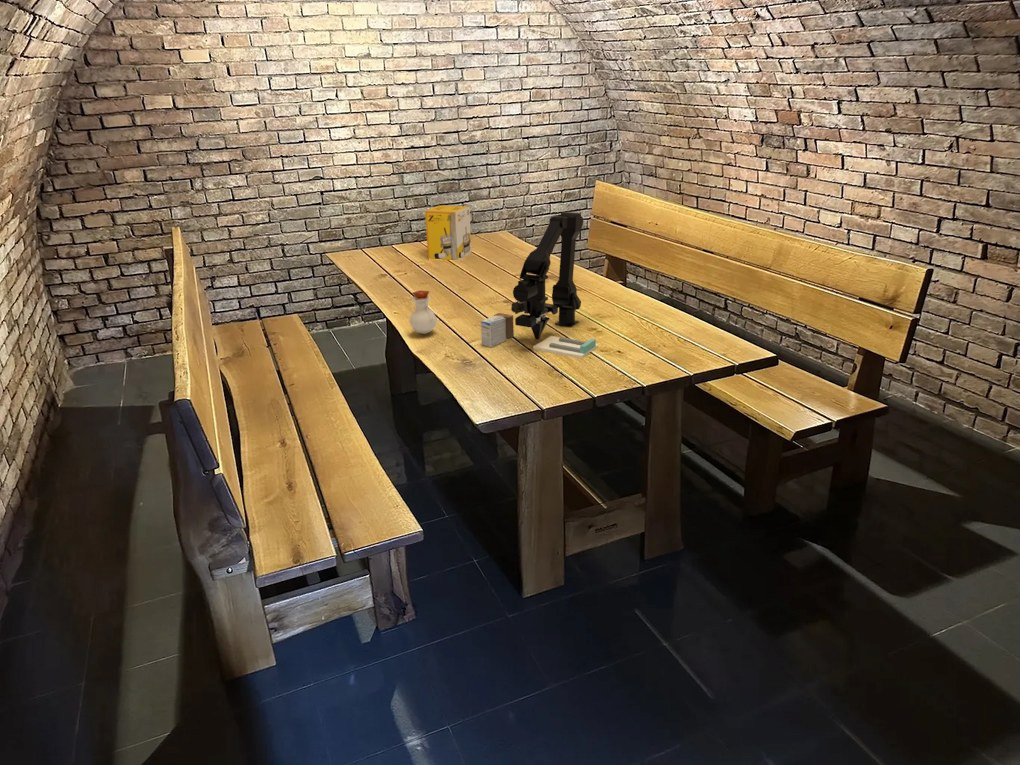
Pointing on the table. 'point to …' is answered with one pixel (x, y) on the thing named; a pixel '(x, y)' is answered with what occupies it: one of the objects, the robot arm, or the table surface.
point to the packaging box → (448, 232)
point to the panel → (508, 324)
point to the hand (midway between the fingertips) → (537, 339)
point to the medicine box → (493, 331)
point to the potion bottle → (422, 314)
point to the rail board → (566, 346)
